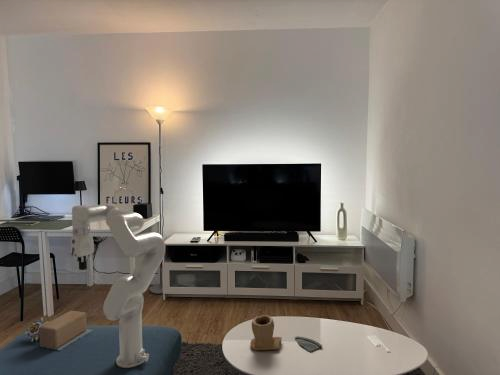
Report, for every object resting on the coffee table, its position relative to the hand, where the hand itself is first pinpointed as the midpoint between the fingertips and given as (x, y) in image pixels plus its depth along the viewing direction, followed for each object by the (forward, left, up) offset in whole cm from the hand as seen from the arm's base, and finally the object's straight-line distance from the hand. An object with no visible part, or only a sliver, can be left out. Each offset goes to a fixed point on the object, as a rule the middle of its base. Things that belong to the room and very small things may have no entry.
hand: (82, 269), depth 162 cm
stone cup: (-84, -25, -37) cm, 95 cm away
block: (+14, +10, -32) cm, 36 cm away
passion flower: (+27, +2, -37) cm, 46 cm away
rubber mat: (+13, -2, -37) cm, 39 cm away
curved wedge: (-102, -34, -38) cm, 114 cm away
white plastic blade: (-134, -45, -38) cm, 146 cm away
